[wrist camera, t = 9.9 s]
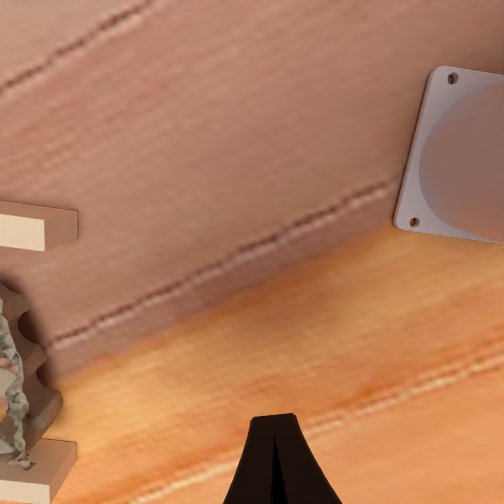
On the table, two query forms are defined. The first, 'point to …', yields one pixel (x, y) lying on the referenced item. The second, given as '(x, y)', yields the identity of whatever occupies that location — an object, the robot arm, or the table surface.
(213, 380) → the table surface
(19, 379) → the egg carton
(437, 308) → the table surface
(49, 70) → the table surface
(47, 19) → the table surface
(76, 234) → the display bay
